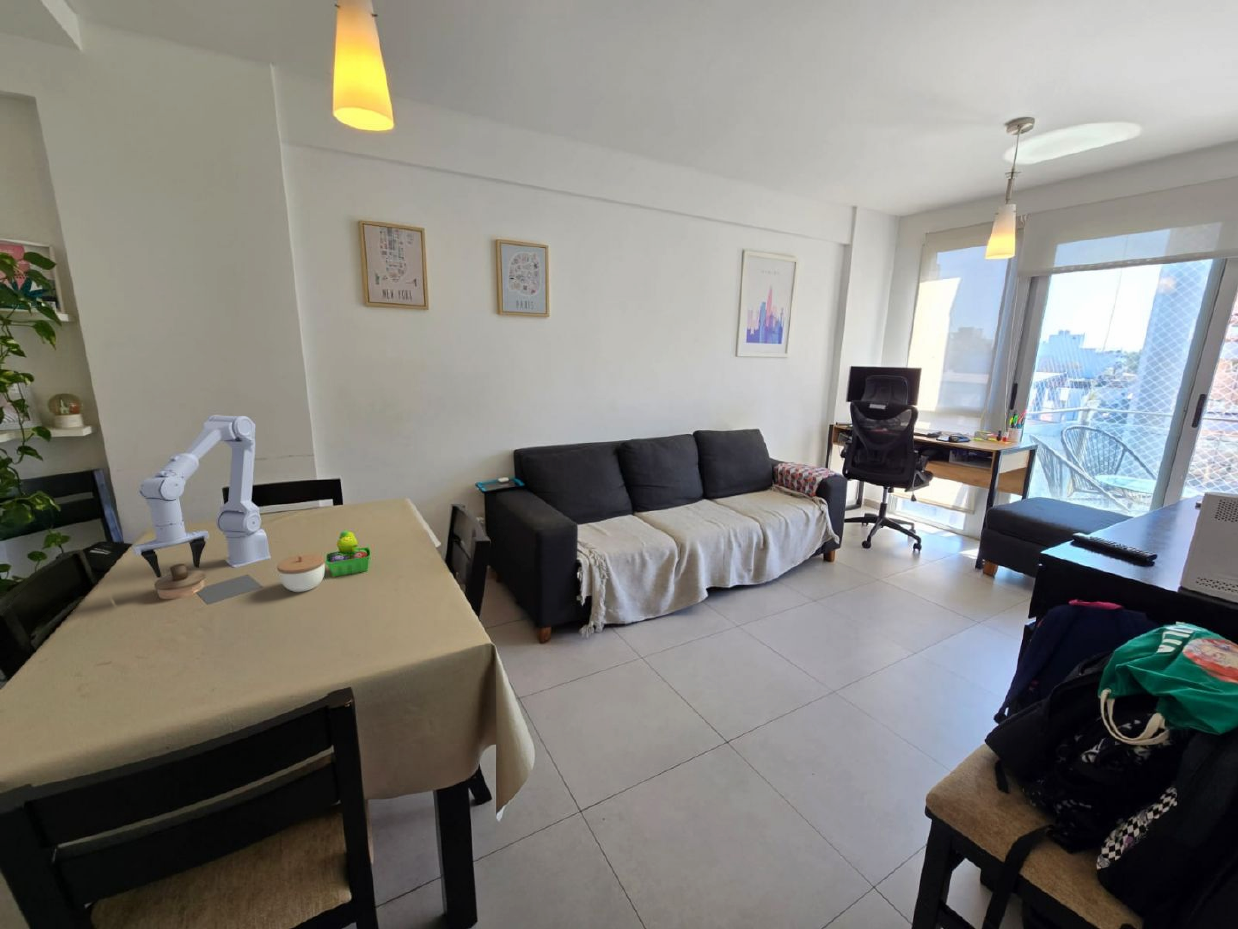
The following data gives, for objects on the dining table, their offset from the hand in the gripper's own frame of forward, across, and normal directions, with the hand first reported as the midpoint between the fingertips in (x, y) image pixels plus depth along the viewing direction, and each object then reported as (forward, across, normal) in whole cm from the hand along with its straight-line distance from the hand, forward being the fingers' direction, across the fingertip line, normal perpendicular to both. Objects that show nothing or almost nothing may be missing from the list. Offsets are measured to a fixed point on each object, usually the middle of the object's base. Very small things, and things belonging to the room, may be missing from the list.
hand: (178, 571), depth 129 cm
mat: (+6, -8, +8) cm, 13 cm away
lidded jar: (+6, -21, +22) cm, 31 cm away
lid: (+3, 0, +1) cm, 3 cm away
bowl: (+6, 0, 0) cm, 6 cm away
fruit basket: (+6, -34, +20) cm, 40 cm away
